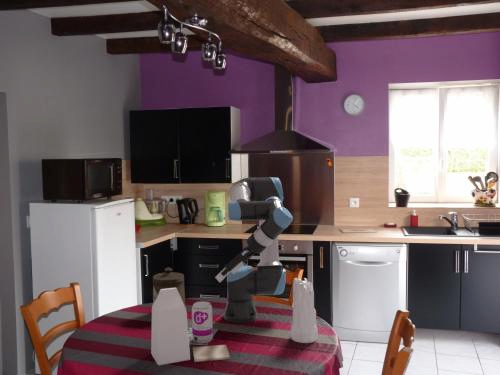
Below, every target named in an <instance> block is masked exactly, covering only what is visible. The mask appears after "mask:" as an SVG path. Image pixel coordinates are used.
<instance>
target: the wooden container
mask: <svg viewBox="0 0 500 375" xmlns="http://www.w3.org/2000/svg"><path fill="white" fill-rule="evenodd" d="M172 271H173V268H171V267H169V266H167V267H165V268H164V272H161V273H160V272H159V273H156V274H154V275H153V276H152V300H153V301H152V302H153V303H154V302H155V300H156V298H157V297H158V294H159V292H160V289H168V288H177V290H178V292H179V294H180V297H181V299H182V301H183V303H184V306H185V307H186V295H185V294H186V293H185V292H186V291H185V274H183V273H181V272H174V271H173V272H172ZM153 303H152V304H153Z"/></svg>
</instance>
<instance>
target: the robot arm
mask: <svg viewBox="0 0 500 375" xmlns="http://www.w3.org/2000/svg"><path fill="white" fill-rule="evenodd" d="M228 194H229V196H228V197H229V199H230V200H231V201H229V202H228V203H227V211H228V212H227V214H228V215H227V218H228V220H229V221H235V222H239V221H240V222H241V221H258V224H259V225H257V226H256V230H255V231H254V232H253V233H252V234H251V235H249V237H248V238H247V239H246V243H247V245H246V246H245V247H243V249H242V250H241V251H239V253H238V254H237V255H236V256H234V258H232V259H231V260H229V262H228V263H227V264H226V263H225V264H224V265H223V266H224V267H223V268H222V270H220V271H219V273H218V274H217V275H216V276H215V277H214V278H215V279H216V280H217V281H218V283H222V282H223V281H224V279H225V278H226V277H227V278H226V283H227V286H226V288H227V290H226V291H227V297H226V298H227V302H226V305H225V309H224V313H223V318H224V321H226V322H229V323H235V324H247V323H251V322H253V321H256V320H257V319H258V312H257V309H256V306H255V303H254V296H276V295H281V294H283V293H284V291H285V287H286V281H287V274H286V273H287V270H286V268H284V267H283V264H282V263H281V261H280V257H279V256H280V254H279V236H280V235H281V233H282V232H284V231H285V230H286V229H287V228H288V227H289V225H290V224H291V223H292V222H293V220H294V217H293V215H292V214H291V212H290V211H289V210H288V209H287V208H285V207H284V204H283V201H284V190H283V186H282V182H281V179H280V178H279V177H271V176H268V177H267V176H266V177H265V176H263V177H262V176H260V177H244V178H241V179H239V180H237V181H236V182H234V183H233V184H232V185H231V186H230V189H229V193H228ZM256 253H257V254H259V260H260V261H259V262H258V264H256V268H255V269H254V268H253V266H251V265H247V264H249V262H248V261H249V260H250V259H251V258H252V257H253V256H255V254H256ZM244 264H245V265H244Z"/></svg>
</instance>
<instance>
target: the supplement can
mask: <svg viewBox="0 0 500 375" xmlns="http://www.w3.org/2000/svg"><path fill="white" fill-rule="evenodd" d="M213 325H214V324H213V306H212V305H211V302H209V301H195V302H194V303H193V305H192V307H191V328H192V329H191V330H192V335H191V336H192V341H194V342H195V343H196V342H197V343H198V344H206V343H210V342H211V341H212V340H213V339H214V337H213V335H214V334H213V332H214V330H213V329H214V328H213Z"/></svg>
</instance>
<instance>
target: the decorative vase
mask: <svg viewBox="0 0 500 375" xmlns="http://www.w3.org/2000/svg"><path fill="white" fill-rule="evenodd" d="M292 304H293V305H292V324H291V325H290V338H291V340H292V341H294V342H297V343H302V344H310V343H314V342H316V341H317V340H318V339H319V337H318V336H319V335H318V334H319V333H318V332H319V330H318V326H317V310H316V309H315V292H314V287H313V282H311V281H308V278H306V277H304V280H302V278H297V277H295V278H293V282H292Z"/></svg>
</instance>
